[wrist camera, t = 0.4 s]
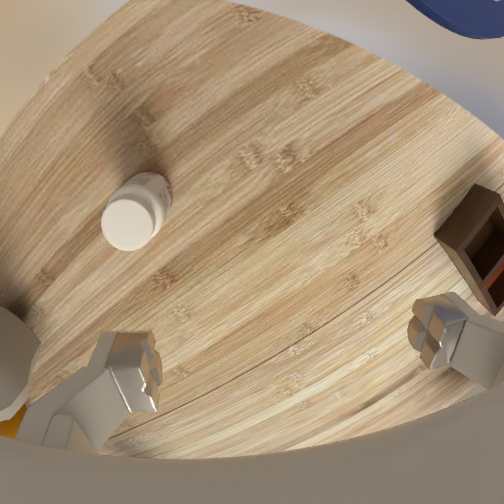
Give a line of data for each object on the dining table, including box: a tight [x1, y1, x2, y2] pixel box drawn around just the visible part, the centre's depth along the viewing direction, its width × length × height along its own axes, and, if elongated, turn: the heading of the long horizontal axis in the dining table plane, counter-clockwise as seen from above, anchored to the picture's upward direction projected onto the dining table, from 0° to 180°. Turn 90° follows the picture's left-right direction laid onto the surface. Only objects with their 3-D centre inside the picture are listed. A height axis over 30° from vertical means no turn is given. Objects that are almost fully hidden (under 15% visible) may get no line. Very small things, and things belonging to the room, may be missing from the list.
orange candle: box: [0, 404, 27, 439], centre depth 35 cm, size 10×10×12 cm
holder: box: [434, 184, 504, 316], centre depth 34 cm, size 17×9×5 cm, turn 50°
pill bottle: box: [101, 172, 173, 251], centre depth 25 cm, size 5×5×8 cm
